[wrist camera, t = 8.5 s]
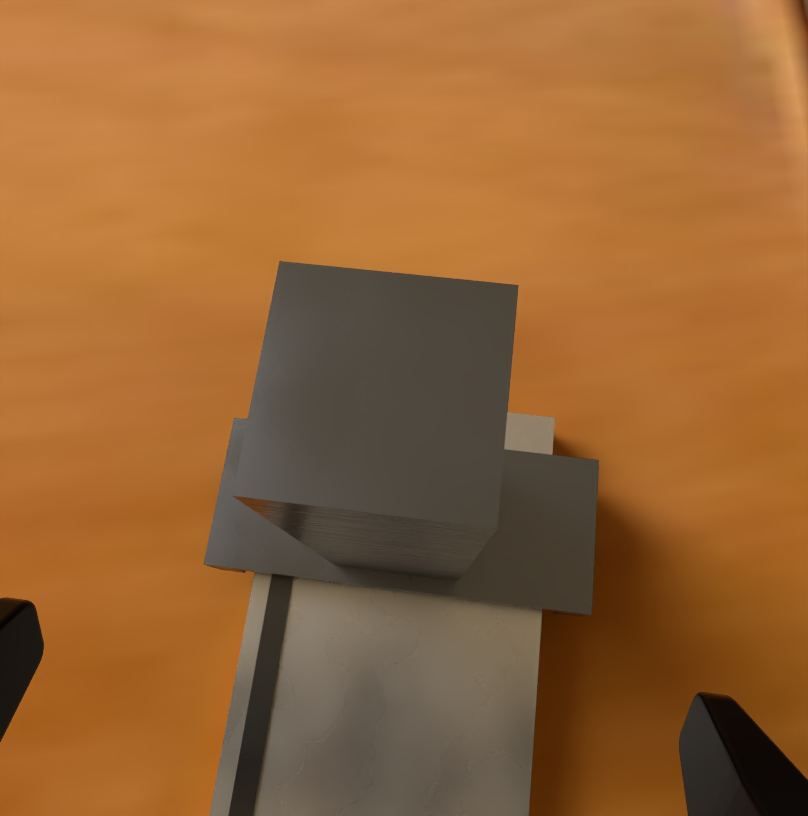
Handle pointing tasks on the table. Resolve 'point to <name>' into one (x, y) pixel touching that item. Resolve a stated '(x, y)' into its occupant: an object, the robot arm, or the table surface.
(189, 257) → the table surface
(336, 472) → the leg
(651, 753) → the table surface
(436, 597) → the bolt plate
